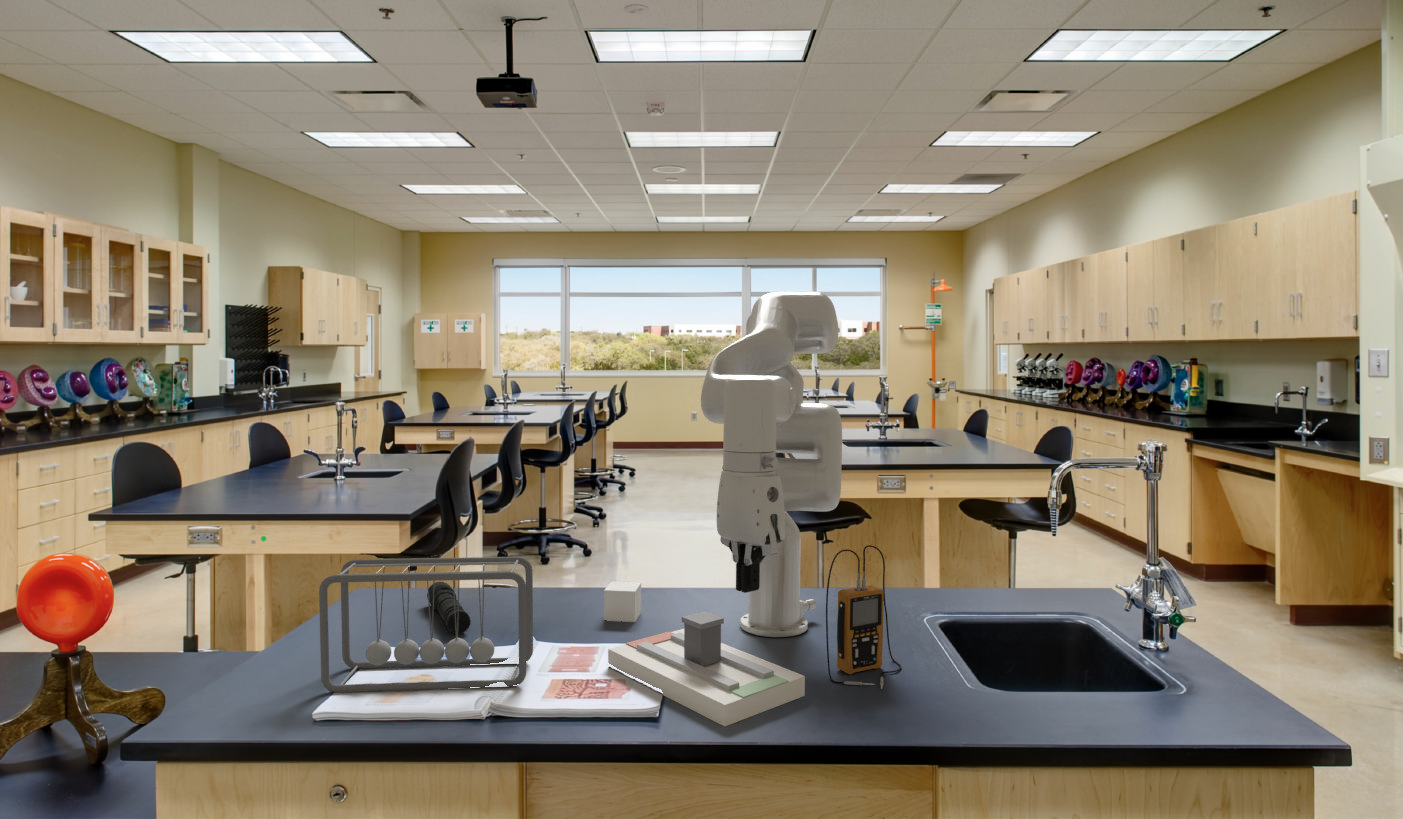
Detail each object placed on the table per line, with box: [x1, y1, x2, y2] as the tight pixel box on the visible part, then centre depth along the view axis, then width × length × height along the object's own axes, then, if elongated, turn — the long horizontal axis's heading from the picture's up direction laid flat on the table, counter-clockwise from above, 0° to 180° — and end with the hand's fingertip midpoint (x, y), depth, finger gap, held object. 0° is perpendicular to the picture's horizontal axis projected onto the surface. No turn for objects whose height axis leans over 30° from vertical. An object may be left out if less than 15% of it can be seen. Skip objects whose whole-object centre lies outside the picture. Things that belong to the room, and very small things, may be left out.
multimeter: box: [825, 545, 902, 690], centre depth 130 cm, size 15×10×20 cm
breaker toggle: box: [681, 610, 725, 667], centre depth 128 cm, size 5×5×7 cm
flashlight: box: [426, 581, 472, 636], centre depth 158 cm, size 5×21×5 cm, turn 27°
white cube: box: [603, 581, 642, 623], centre depth 160 cm, size 6×6×6 cm
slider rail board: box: [607, 628, 806, 727], centre depth 128 cm, size 16×28×4 cm, turn 41°
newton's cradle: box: [318, 556, 534, 694], centre depth 129 cm, size 30×10×18 cm, turn 95°
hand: (747, 589), depth 119 cm, fingers closed
